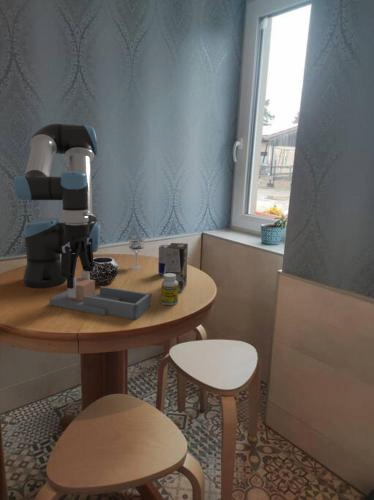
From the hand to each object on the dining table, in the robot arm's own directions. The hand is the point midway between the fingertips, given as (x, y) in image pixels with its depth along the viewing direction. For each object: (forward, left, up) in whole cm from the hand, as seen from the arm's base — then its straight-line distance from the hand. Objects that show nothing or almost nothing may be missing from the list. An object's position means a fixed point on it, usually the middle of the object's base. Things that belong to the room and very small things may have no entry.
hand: (79, 293), depth 115 cm
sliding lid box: (+8, 0, -3) cm, 9 cm away
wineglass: (-1, +42, -3) cm, 42 cm away
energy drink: (+14, +38, -3) cm, 41 cm away
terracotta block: (+1, 0, -1) cm, 1 cm away
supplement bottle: (+27, +11, -3) cm, 29 cm away
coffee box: (+24, +25, -3) cm, 35 cm away
